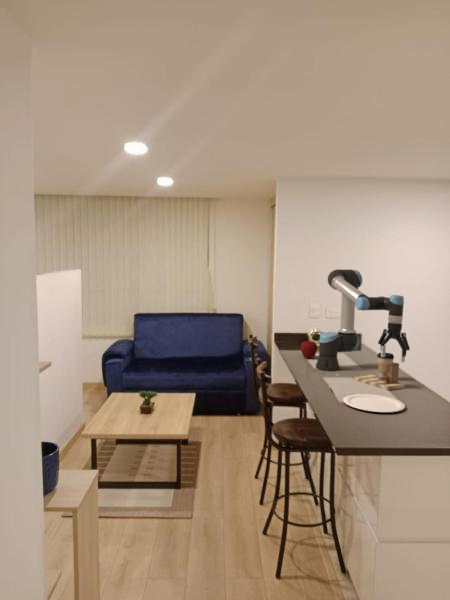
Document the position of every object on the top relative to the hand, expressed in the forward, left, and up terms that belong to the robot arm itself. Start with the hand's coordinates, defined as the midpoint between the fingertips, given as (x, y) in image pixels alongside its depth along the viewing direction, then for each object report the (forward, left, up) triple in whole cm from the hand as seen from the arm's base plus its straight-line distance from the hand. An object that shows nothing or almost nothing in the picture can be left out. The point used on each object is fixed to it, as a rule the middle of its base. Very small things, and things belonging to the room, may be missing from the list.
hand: (392, 359), depth 273 cm
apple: (-78, +6, -15) cm, 80 cm away
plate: (+22, -39, -16) cm, 47 cm away
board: (-6, -4, -15) cm, 17 cm away
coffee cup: (-12, +9, -15) cm, 22 cm away
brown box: (0, -4, -13) cm, 14 cm away
